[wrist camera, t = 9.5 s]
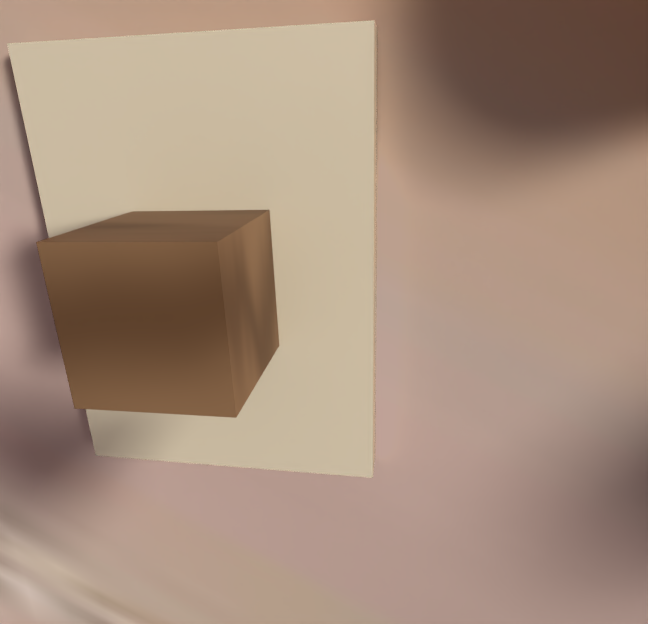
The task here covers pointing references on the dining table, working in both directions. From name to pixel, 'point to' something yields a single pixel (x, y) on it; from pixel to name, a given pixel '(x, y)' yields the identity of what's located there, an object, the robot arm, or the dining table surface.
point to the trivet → (233, 194)
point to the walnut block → (164, 310)
